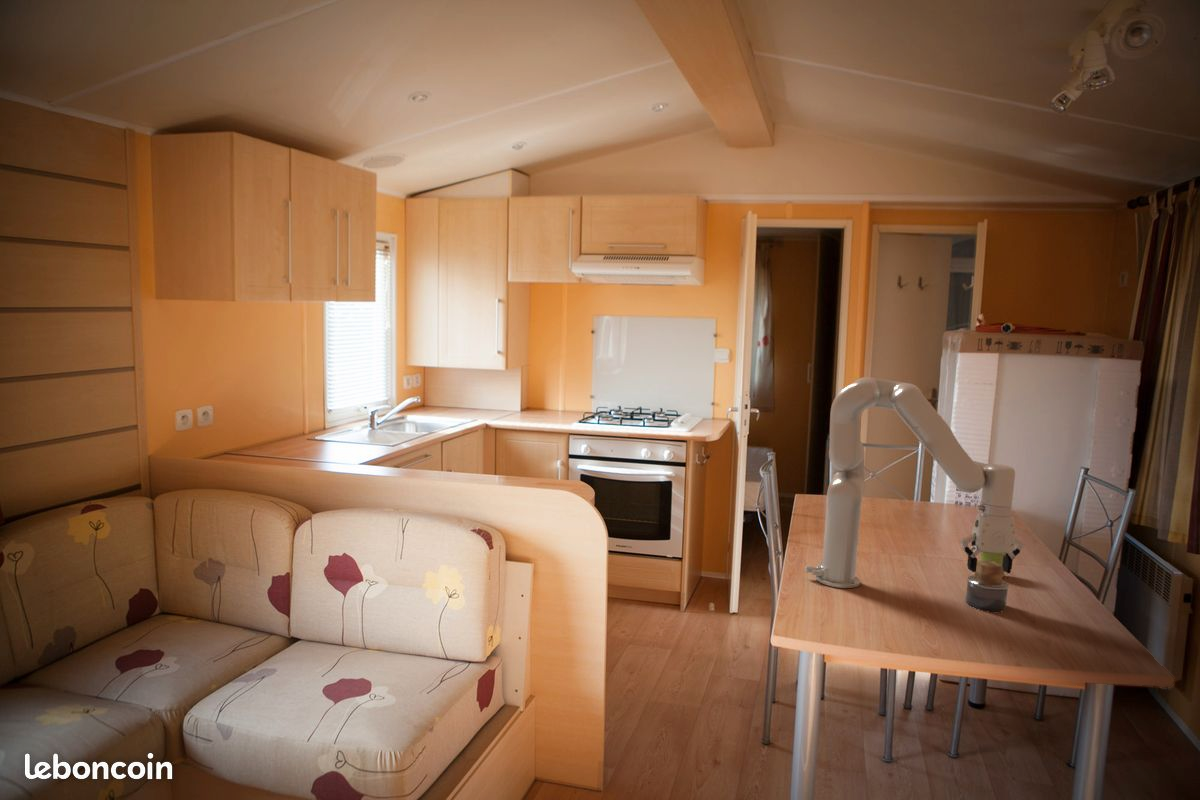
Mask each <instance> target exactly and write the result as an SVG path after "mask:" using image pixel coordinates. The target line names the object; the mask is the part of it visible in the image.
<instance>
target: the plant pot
mask: <svg viewBox="0 0 1200 800" xmlns="http://www.w3.org/2000/svg"><path fill="white" fill-rule="evenodd" d="M979 555H980V561H994V562H996V563H997V564H999V565H1000V566H1002V563H1003V557H1004V556H1005V553H985V552H980V553H979ZM1005 573H1006V572H1005V571H1003V575H1002V577H1003V578H1004V576H1005Z"/></svg>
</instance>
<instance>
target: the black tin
mask: <svg viewBox="0 0 1200 800" xmlns="http://www.w3.org/2000/svg"><path fill="white" fill-rule="evenodd" d="M974 576H975V574H974V575H969V576H967V578H966V579H967V585H966V592H965V593H966V595H965V602H966V603H967V604H968V605H969V606H968V605H967V604H966V603H965V604H966V605H967V606H968V607H970V606H971V607H970V608H972V607H974V608H976V609H975V610H977V609H980V610H979V611H981V610H983V611H982V612H986V611H989V612H988V613H994V612H998V613H1002V612H1001V611H1003V612H1005V611H1006V609H1007V607H1006V606H1007V598H1008V591H1009V590H1008V589H1009V583H1008V582H1006V581H1005V580H1003V579H1002V583H1001V585H988V584H982V583H981V582H979V581H978V580H976V579H975V578H974ZM974 608H973V609H974ZM1004 610H1005V611H1004Z"/></svg>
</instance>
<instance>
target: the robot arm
mask: <svg viewBox="0 0 1200 800" xmlns="http://www.w3.org/2000/svg"><path fill="white" fill-rule="evenodd" d="M870 408H880V409H885V410H891V411H895V412H896V414H897V415H898V416H899V417H900V418H901V420H902V421H903V422H904V424H905V425H906V426H907V427H908V428H909V429H910V430H911V432H912V433H913V434H914V436H915V437H916V438H917V439H918V441H919V442H920V444H922V446H923V447H924V448H925V450H926V451H927V452H928V454H929V455H931V456H932V458H933V460H935V462H936V463H937V464H938V465H939V467H940V468H941V469H942V470H943V472H944V473H945V474H946V476H948V478H949V479H950V480H951V482H952V483H953V484H954V485H955V486H956V487H957V488H958V489H959V490H960V491H962V492H963V493H969V494H972V493H976V492H978V491H980V490H981V489H982V491H981V501H980V504H978V505H976V507H975V509H976V511H978V513H977V514H976V517H975V519H974V524H973V527H972V534H970V535H968V536H966V537H963V538H962V539H960V540H959V542H960V545H961V547H962V550H963V551H964V552H965V553H966V555H967V563H966V565H967V566H966V567H967V569H968V570H969V571H970V572H972V573H975V572H976V567H977V561H978V558H977V556H978V555H980V552H985V553H1005V556H1004V557H1003V563H1002V567H1003V571H1005V572H1004V573H1007V574H1011V571H1012V568H1013V560H1015V559H1016V556H1017V555H1019V554H1020V552H1021V550H1022V548H1024V545H1025V544H1024V542H1022V541H1021V540H1019V539H1017V538H1016V528H1015V519H1014V516H1012V515H1011V514H1012V507H1013V500H1014V499H1013V497H1014V488H1015V480H1016V471H1015V468H1013V467H1012V466H1008V465H1005V464H999V463H998V464H995V463H994V464H992V463H991V464H989V463H984V462H979V461H975V460H973V459H972V457H970V456H969V454H968V453H967V451H965V449H964V448H963V447H962V445H961V443H959V441H958V439H957V438H956V436H955V434H954V432H953V430H952V429H951V427H950V425H948V423H947V422H946V421H945V419H943V417H942V416H941V415H940V414H939V413H938V412H937V410H936V409H935V408H934V407H933V405H932V404H931V403H930V401H929V400H928V399H927V398H926V396H924V394H923V393H922V390H921V389H920V388H919V387H918V386H917V385H915V384H913V383H909V382H902V381H895V380H889V379H883V378H876V377H870V376H866V377H865V376H864V377H860V378H858V379H857V380H855V381H853V382H851V383H850V384H849V385H847V386H845V387H844V388H842V390H840V391H839V392H838V393H837V395H836V396H835V398H834V399H833V401H832V403H831V408H830V417H829V448H828V449H829V450H828V459H829V461H830V464H831V467H830V468H831V471H830V473H831V474H830V475H831V481H830V483H829V484H828V487H827V490H826V491H827V493H826V507H825V509H826V510H825V520H824V521H825V522H824V538H823V548H822V549H823V550H822V562H818V564H817V565H815V566H812V565H805V567H804V571H805V573H809V574H811V575H813V576H814V575H815V580H816V581H817V582H819V583H821V584H823V585H825V586H829V587H831V588H832V587H833V588H839V589H853V588H854V589H855V588H857V587H859V586H861V585H860V584H861V579H860V578H859V577H858V576H856V569H857V560H858V559H857V558H858V545H859V536H860V535H859V534H860V526H861V525H860V523H861V513H862V511H861V510H862V500H863V494H864V491H865V448H864V444H863V443H862V441H861V431H862V430H861V429H862V424H861V423H862V422H861V419H862V418H861V417H862V415H863V412H864V411H866V410H867V409H870ZM969 544H970V545H971V547H969Z"/></svg>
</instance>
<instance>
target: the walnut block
mask: <svg viewBox="0 0 1200 800" xmlns="http://www.w3.org/2000/svg"><path fill="white" fill-rule="evenodd" d="M974 575H975V576H974V578H975V579H976V580H978V581H979V582H981V583H982V584H988V585H1001V583H1002V580H1003V578H1002V575H1003V567H1002V566H1000V565H999V564H997V563H996V562H994V561H981V560H977V567H976V572H974Z"/></svg>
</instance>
